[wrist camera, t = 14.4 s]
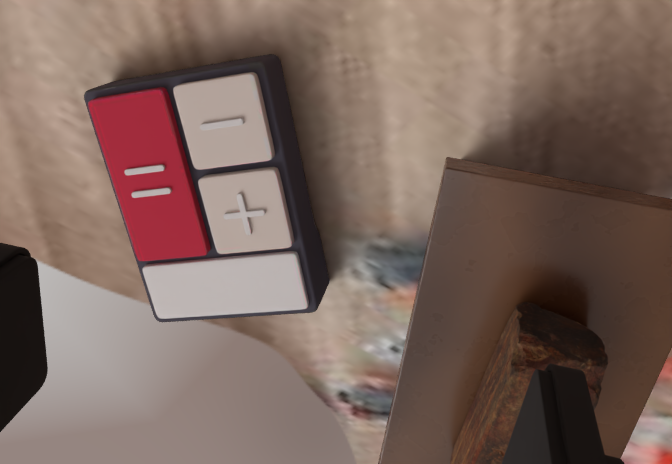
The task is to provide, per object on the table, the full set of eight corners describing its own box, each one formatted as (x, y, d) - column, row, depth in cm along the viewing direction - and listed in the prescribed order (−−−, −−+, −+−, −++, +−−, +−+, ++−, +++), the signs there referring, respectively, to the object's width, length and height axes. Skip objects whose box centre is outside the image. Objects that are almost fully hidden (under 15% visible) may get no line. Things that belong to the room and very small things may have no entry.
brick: (519, 473, 35) (526, 548, 31) (448, 452, 35) (445, 523, 31) (598, 316, 30) (619, 380, 26) (514, 292, 30) (522, 352, 26)
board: (372, 490, 39) (368, 510, 38) (446, 156, 29) (445, 167, 28) (569, 539, 38) (573, 561, 37) (718, 207, 28) (730, 221, 27)
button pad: (259, 61, 32) (316, 319, 38) (282, 50, 36) (331, 285, 42) (72, 93, 35) (149, 329, 41) (112, 80, 39) (178, 297, 44)
